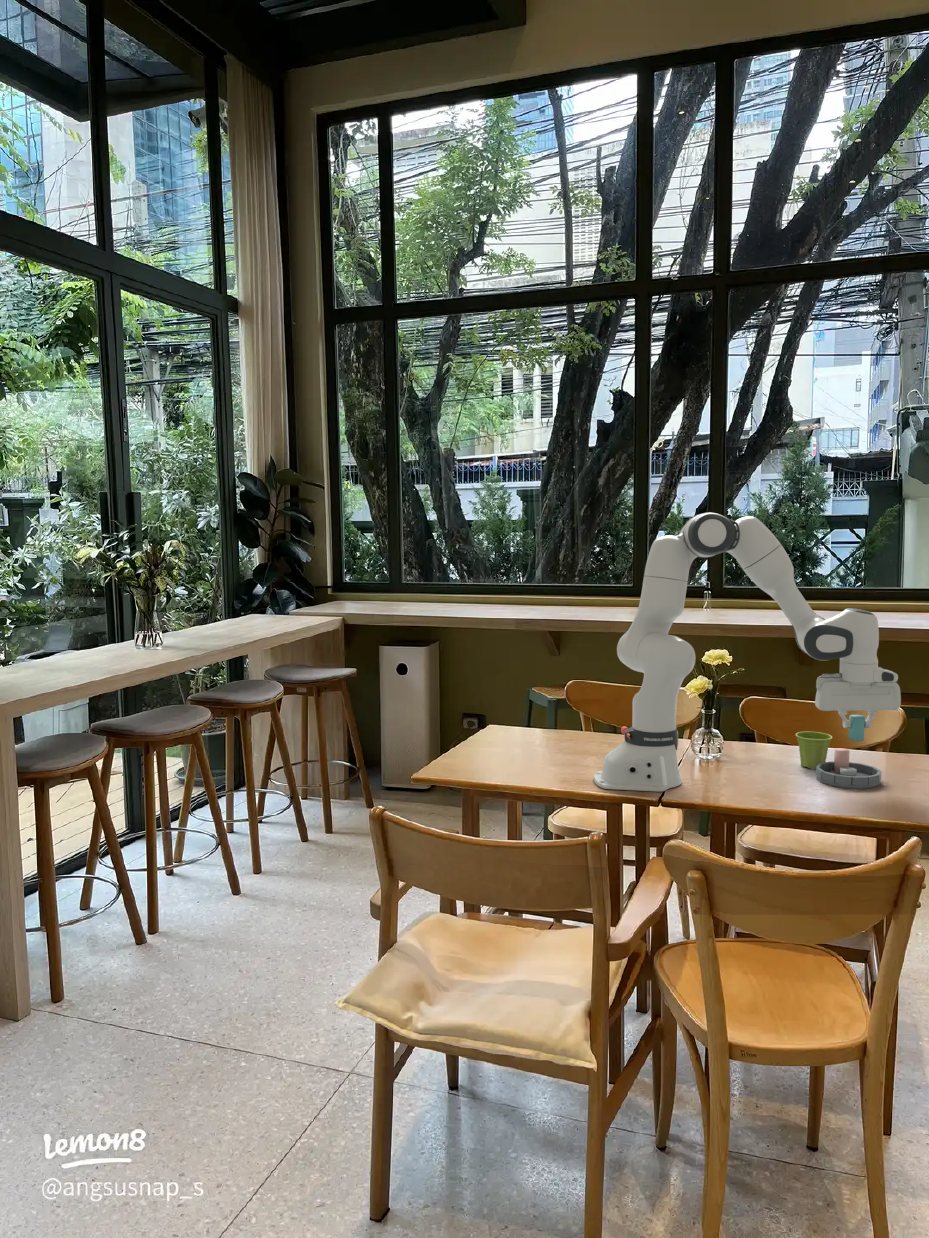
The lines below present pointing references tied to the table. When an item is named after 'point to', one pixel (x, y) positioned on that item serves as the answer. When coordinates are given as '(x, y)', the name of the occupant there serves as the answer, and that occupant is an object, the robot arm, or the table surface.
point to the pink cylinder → (841, 759)
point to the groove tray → (849, 781)
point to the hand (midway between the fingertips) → (856, 727)
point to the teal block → (857, 727)
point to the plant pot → (813, 748)
